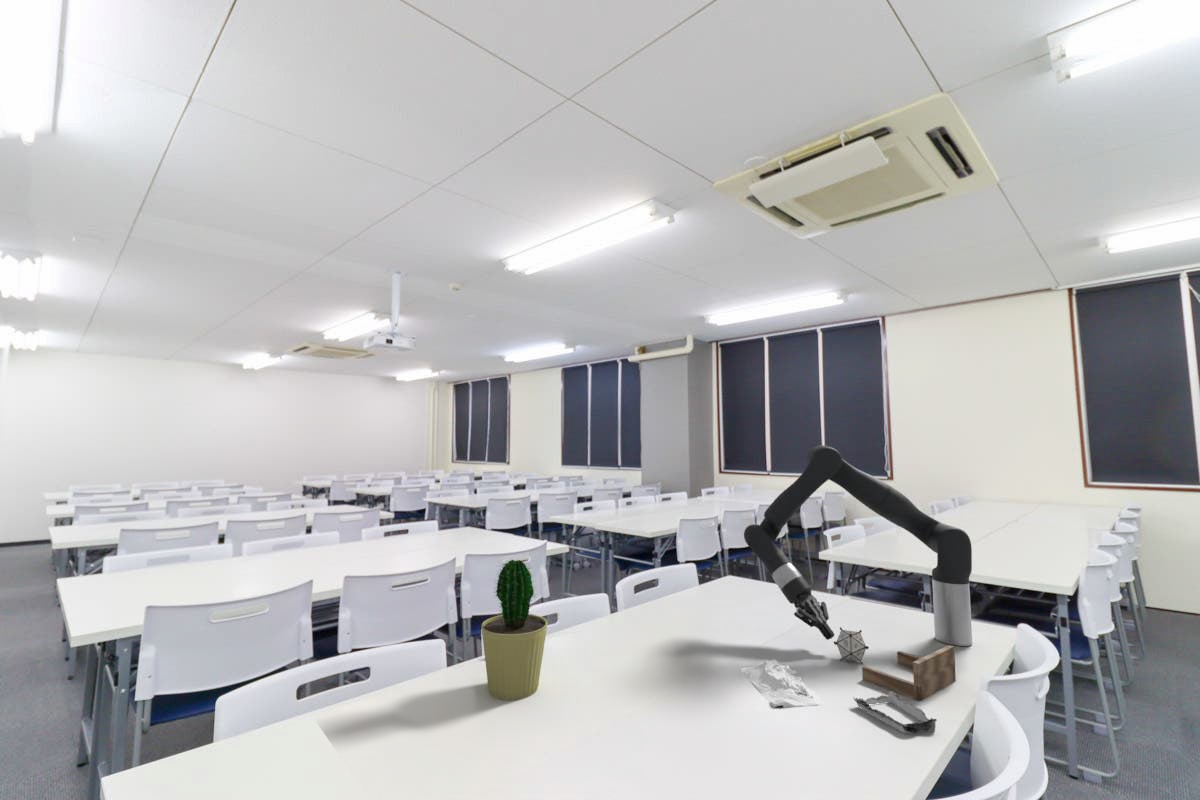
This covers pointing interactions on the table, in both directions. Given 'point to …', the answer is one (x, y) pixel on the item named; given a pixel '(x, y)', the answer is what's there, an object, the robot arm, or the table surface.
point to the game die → (851, 645)
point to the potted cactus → (514, 637)
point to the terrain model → (780, 685)
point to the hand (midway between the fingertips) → (831, 637)
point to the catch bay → (918, 674)
